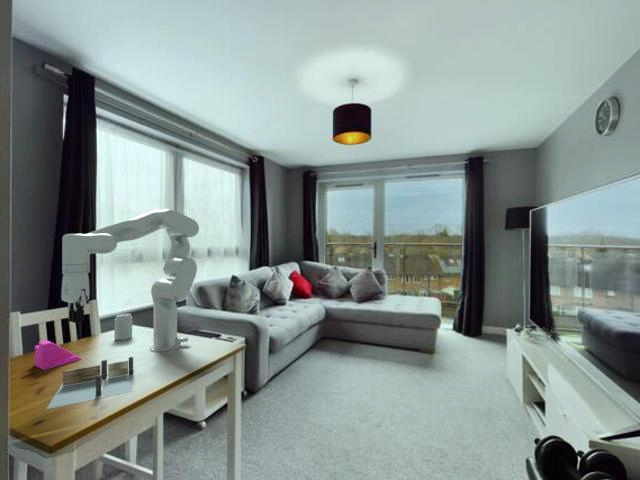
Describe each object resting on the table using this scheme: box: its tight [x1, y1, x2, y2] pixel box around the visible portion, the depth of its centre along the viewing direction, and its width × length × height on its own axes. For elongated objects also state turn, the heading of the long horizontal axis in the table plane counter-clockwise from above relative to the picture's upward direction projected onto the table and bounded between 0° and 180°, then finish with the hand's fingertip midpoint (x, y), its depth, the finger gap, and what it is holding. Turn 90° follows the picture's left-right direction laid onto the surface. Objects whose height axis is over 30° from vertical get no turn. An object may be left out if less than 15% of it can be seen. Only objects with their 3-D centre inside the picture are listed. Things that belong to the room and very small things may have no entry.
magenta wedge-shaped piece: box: [34, 339, 82, 371], centre depth 121 cm, size 12×10×10 cm
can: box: [114, 313, 133, 341], centre depth 151 cm, size 8×8×12 cm
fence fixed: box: [96, 356, 134, 396], centre depth 102 cm, size 10×14×6 cm
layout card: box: [46, 369, 135, 410], centre depth 100 cm, size 21×18×1 cm
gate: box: [62, 364, 101, 386], centre depth 103 cm, size 10×1×5 cm, turn 119°
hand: (76, 320), depth 106 cm, fingers closed
